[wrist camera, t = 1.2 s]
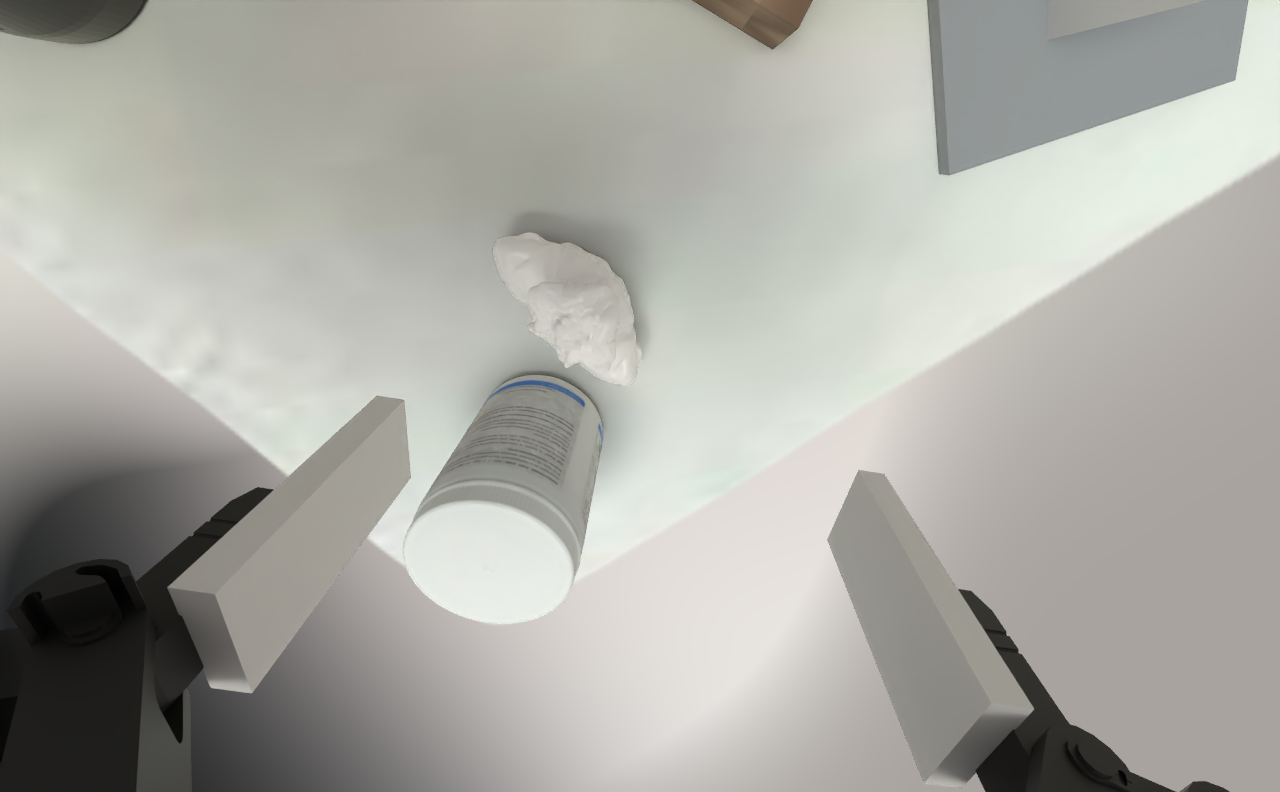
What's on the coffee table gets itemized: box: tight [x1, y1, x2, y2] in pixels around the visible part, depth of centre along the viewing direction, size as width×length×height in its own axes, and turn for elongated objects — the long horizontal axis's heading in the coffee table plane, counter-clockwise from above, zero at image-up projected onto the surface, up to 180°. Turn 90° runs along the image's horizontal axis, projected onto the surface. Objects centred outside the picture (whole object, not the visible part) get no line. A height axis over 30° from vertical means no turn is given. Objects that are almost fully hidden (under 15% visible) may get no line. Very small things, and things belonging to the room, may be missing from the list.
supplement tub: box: [403, 375, 603, 624], centre depth 33 cm, size 10×10×15 cm
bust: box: [492, 232, 642, 386], centre depth 30 cm, size 12×8×11 cm
